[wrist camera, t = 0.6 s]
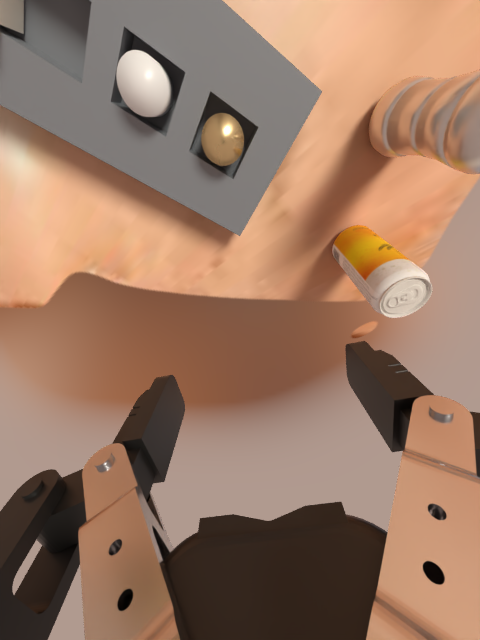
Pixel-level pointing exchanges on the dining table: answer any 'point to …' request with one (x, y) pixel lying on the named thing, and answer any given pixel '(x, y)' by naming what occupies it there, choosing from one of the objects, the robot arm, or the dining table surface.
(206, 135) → the brass button
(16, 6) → the paddle switch
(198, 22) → the control panel
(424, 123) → the plastic bottle
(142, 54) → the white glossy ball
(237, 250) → the dining table surface
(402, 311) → the beer can
